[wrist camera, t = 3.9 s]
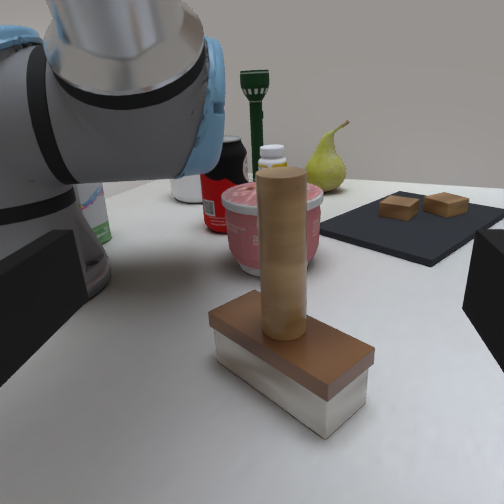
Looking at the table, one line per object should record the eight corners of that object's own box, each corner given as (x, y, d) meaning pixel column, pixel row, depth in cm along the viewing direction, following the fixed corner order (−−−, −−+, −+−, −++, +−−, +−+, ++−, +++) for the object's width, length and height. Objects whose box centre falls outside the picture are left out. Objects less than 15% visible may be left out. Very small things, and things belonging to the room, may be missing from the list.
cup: (211, 186, 78) (206, 132, 74) (240, 196, 71) (237, 137, 67) (163, 196, 73) (155, 139, 69) (189, 208, 65) (182, 145, 62)
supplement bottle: (289, 193, 71) (289, 144, 68) (284, 200, 67) (283, 148, 64) (263, 192, 72) (261, 144, 69) (256, 199, 68) (254, 149, 65)
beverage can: (226, 238, 52) (218, 143, 48) (195, 228, 57) (186, 140, 52) (259, 225, 56) (256, 136, 52) (229, 216, 61) (223, 133, 56)
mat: (311, 231, 53) (311, 226, 53) (399, 195, 67) (399, 191, 66) (431, 267, 42) (432, 260, 42) (507, 215, 55) (508, 209, 55)
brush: (212, 360, 30) (192, 167, 24) (256, 335, 33) (247, 155, 27) (326, 444, 23) (334, 196, 17) (370, 403, 25) (390, 177, 20)
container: (336, 253, 47) (338, 184, 43) (296, 293, 38) (295, 212, 35) (257, 239, 52) (254, 176, 49) (207, 271, 44) (200, 199, 41)
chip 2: (422, 210, 57) (423, 196, 56) (442, 205, 58) (444, 192, 57) (446, 218, 53) (448, 203, 52) (467, 212, 55) (469, 198, 54)
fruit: (315, 184, 76) (316, 117, 71) (354, 189, 72) (357, 117, 67) (297, 193, 71) (297, 121, 66) (338, 198, 67) (341, 122, 62)
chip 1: (378, 216, 55) (379, 202, 54) (389, 208, 58) (390, 195, 57) (408, 221, 53) (409, 206, 52) (417, 213, 56) (419, 198, 55)
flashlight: (276, 183, 78) (274, 69, 70) (253, 187, 76) (247, 70, 68) (264, 178, 82) (260, 70, 74) (241, 182, 80) (235, 71, 72)
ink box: (35, 247, 53) (9, 155, 48) (64, 233, 57) (43, 147, 53) (89, 252, 50) (67, 156, 46) (115, 237, 55) (97, 148, 50)
